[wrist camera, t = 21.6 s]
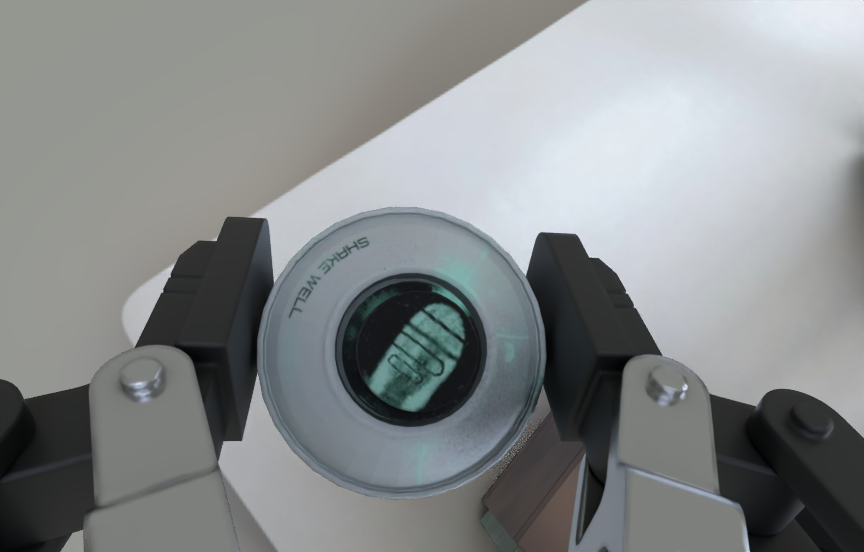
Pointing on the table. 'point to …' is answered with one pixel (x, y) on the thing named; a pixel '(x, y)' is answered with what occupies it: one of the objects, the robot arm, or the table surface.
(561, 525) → the cabinet
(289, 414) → the spray can
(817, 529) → the black nas enclosure
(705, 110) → the table surface
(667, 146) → the table surface
